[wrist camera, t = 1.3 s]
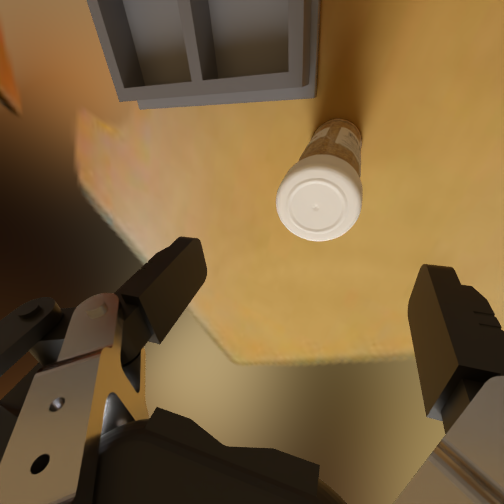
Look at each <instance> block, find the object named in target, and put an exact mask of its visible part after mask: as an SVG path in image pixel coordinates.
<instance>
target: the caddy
mask: <svg viewBox="0 0 504 504" xmlns="http://www.w3.org/2000/svg"><path fill="white" fill-rule="evenodd" d="M320 1H321V0H87V3H88V6H89V9H90V12H91V15H92V18H93V21H94V24H95V27H96V30H97V34H98V37H99V40H100V43H101V46H102V49H103V52H104V55H105V58H106V61H107V65H108V68H109V71H110V73H111V77H112V80H113V83H114V86H115V89H116V92H117V95H118V99H119V102H123V101H136V100H137V102H138V105H139V109H140V110H141V109H157V108H172V107H187V106H202V105H217V104H232V103H247V102H262V101H278V100H293V99H308V98H315V97H316V89H317V67H318V45H319V23H320Z"/></svg>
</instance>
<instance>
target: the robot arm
mask: <svg viewBox="0 0 504 504" xmlns="http://www.w3.org/2000/svg"><path fill="white" fill-rule="evenodd" d="M206 276H207V267H206V262H205V258H204V254H203V249H202V245H201V242H200V240H199V239H198V238H189V237H179V238H178V239H176V240H175V241H174V242H173V243H172V244H171V245H170V246H169V247H167V248H165V249H163V250H162V251H160V252H158V253H156V254H155V255H154V256H153V257H152V258H151V259H150V260H149V261H148V263H146V264H145V265H144V266H142V268H141V269H140V270H138V271H137V272H136V273H135V274H134V275H133V276H132V277H131V278H130V279H129V280H128V281H126V282H125V283H124V284H123V285H122V286H121V287H120V288H119V289H118V290H117V291H116V292H115V293H114V294H112V293H102V294H98V295H95V296H93V297H90V298H88V299H87V300H85V301H84V302H82V303H81V304H80V305H79V306H78V307H75V308H63V309H60V308H59V306H58V305H57V303H56V302H55V301H54V299H52V298H49V297H43V298H38V299H34V300H31V301H29V302H27V303H25V304H23V305H21V306H19V307H18V308H17V309H15V310H14V311H12V312H11V313H10V314H9V315H7V316H6V317H5V318H3V319H2V320H1V321H0V377H1V376H2V375H3V374H4V373H5V372H6V371H7V370H8V369H9V368H10V367H11V366H12V365H14V364H15V363H16V362H17V361H18V360H19V359H20V358H21V357H22V356H23V355H24V354H26V352H28V351H29V352H30V353H31V354H32V355H33V356H34V357H35V358H36V359H37V360H38V362H39V363H38V364H37V365H36V366H35V367H34V368H33V369H32V370H31V371H30V372H29V373H28V374H27V375H26V376H25V377H24V378H23V379H22V380H21V381H20V382H19V383H18V384H17V385H16V386H15V387H14V388H13V389H12V390H11V391H10V392H9V393H8V394H6V395H5V396H4V398H2V399H1V400H0V504H347V503H346V502H345V501H344V500H343V499H342V498H341V496H339V494H337V493H336V492H335V491H334V490H333V489H332V488H331V487H330V486H329V485H327V484H326V483H325V482H323V481H322V480H321V479H319V478H318V477H319V466H320V465H318V464H315V463H312V462H309V461H306V460H304V459H301V458H298V457H295V456H292V455H290V454H287V453H284V452H281V451H279V450H276V449H271V448H247V447H228V446H225V445H223V444H221V443H220V442H219V441H218V440H216V439H215V438H214V437H213V436H211V435H210V434H209V433H208V432H206V431H205V430H204V429H203V428H201V427H200V426H198V424H196V423H195V422H194V421H193V420H191V419H189V418H186V417H183V416H181V415H178V414H175V413H172V412H169V411H167V410H164V409H161V408H158V407H157V408H156V409H155V411H154V413H153V414H152V416H151V418H149V413H148V409H147V406H146V401H145V358H146V353H145V349H144V346H145V344H146V343H147V342H148V341H149V342H153V343H157V344H161V342H162V341H163V339H164V338H165V337H166V335H167V334H168V332H169V331H170V330H171V328H172V327H173V325H174V324H175V323H176V321H177V320H178V318H179V317H180V315H181V314H182V312H183V311H184V310H185V309H186V307H187V306H188V304H189V303H190V302H191V300H192V299H193V297H194V296H195V294H196V293H197V292H198V290H199V289H200V287H201V286H202V285H203V283H204V282H205V279H206ZM494 315H495V314H494V312H493V310H492V308H491V306H490V305H489V303H488V301H487V299H486V298H484V297H483V296H482V295H481V294H480V293H479V292H478V291H477V290H475V289H474V288H473V287H472V286H466V285H461V283H460V281H459V279H458V277H457V274H456V272H455V270H454V269H453V268H452V267H446V266H437V265H428V264H423V265H422V266H421V268H420V271H419V273H418V276H417V279H416V282H415V285H414V288H413V291H412V293H411V296H410V299H409V304H408V320H409V325H410V330H411V336H412V341H413V347H414V352H415V357H416V363H417V368H418V373H419V379H420V384H421V390H422V395H423V400H424V406H425V411H426V416H427V417H429V418H433V419H436V420H440V421H443V424H444V429H445V434H446V435H445V436H444V437H443V439H442V440H441V441H440V443H439V444H438V445H437V447H436V448H435V449H434V451H433V452H432V453H431V454H430V456H429V457H428V458H427V460H426V461H425V462H424V464H423V465H422V466H421V468H420V469H419V470H418V471H417V473H416V474H415V475H414V477H413V478H412V479H411V481H410V482H409V483H408V484H407V486H406V487H405V489H404V490H403V491H402V492H401V494H400V495H399V496H398V498H397V499H396V500H395V502H394V503H393V504H504V331H503V330H501V325H500V323H499V321H498V320H497V318H496V317H494Z"/></svg>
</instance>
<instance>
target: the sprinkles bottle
mask: <svg viewBox="0 0 504 504" xmlns="http://www.w3.org/2000/svg"><path fill="white" fill-rule="evenodd" d="M361 146H362V139H361V134H360V132H359V130H358V129H357V127H356V126H355V125H354V124H353V123H351V122H349V121H348V120H344V119H333V120H329V121H327V122H326V123H324V124H322V125H321V126H320V127H319V128H318V129H317V130H316V132H315V133H314V135H313V137H312V139H311V141H310V142H309V144H308V146H307V147H306V149H305V150H304V152H303V154H302V155H301V157H300V159H299V162H297V163H296V164H295V165H293V167H292V168H291V169H290V170H289V171H288V172H287V174H286V175H285V177H284V179H283V181H282V182H281V184H280V186H279V189H278V191H277V196H276V208H277V212H278V215H279V217H280V219H281V221H282V223H283V224H284V225H285V226H286V228H287V229H288V230H290V231H291V232H292V233H294V234H295V235H297V236H299V237H301V238H304V239H307V240H311V241H327V240H331V239H334V238H337V237H339V236H341V235H343V234H344V233H346V232H347V231H348V230H349V229H350V228H351V227H352V226H353V225H354V224H355V222H356V221H357V219H358V217H359V214H360V211H361V206H362V183H361V180H360V176H361Z"/></svg>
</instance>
